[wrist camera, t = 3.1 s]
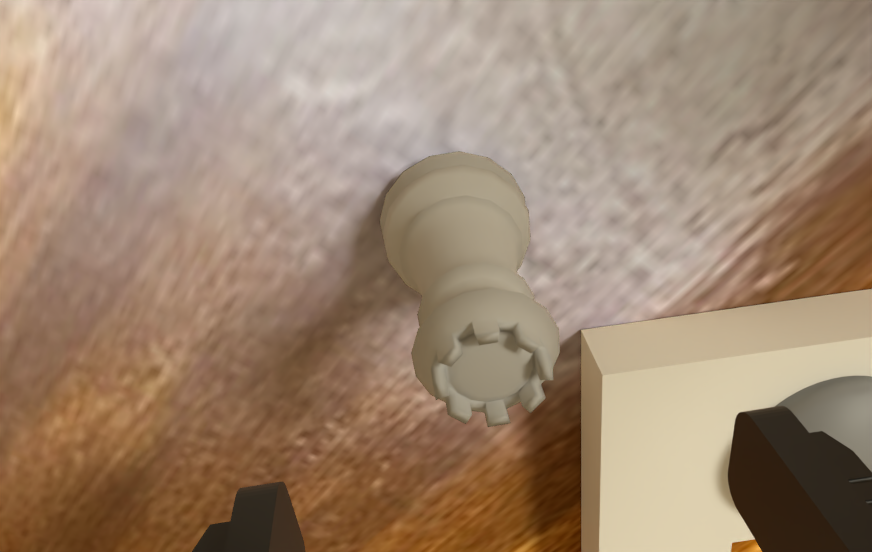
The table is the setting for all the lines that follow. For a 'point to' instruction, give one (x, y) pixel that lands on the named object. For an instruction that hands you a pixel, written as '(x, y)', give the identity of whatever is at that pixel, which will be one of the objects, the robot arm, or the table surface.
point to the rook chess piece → (470, 285)
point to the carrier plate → (709, 412)
